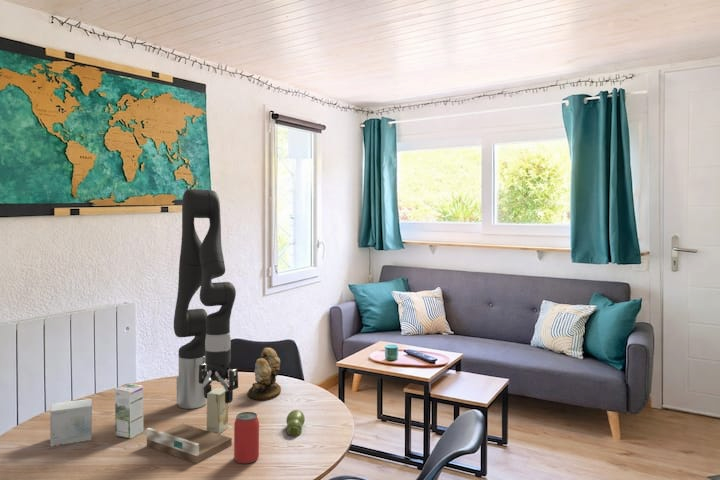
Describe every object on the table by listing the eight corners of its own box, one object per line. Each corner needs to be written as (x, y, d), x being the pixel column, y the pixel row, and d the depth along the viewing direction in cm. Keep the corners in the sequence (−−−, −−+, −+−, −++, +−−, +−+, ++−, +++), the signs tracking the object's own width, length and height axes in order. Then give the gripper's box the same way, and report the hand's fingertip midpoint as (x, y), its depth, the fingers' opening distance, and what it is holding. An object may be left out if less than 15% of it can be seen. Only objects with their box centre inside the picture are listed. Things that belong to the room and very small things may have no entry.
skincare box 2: (219, 435, 155) (219, 395, 154) (205, 433, 156) (206, 393, 155) (228, 426, 161) (229, 388, 161) (216, 425, 162) (216, 386, 162)
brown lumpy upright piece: (253, 384, 202) (253, 341, 201) (283, 385, 202) (284, 342, 202) (244, 401, 184) (245, 353, 183) (277, 401, 184) (278, 354, 184)
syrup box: (144, 431, 156) (144, 384, 156) (129, 439, 151) (129, 390, 150) (129, 429, 158) (129, 382, 158) (114, 436, 153) (114, 388, 152)
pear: (305, 407, 164) (302, 424, 154) (305, 422, 165) (302, 440, 155) (287, 406, 164) (284, 424, 154) (287, 421, 165) (284, 440, 155)
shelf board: (145, 446, 147) (145, 429, 146) (182, 429, 158) (183, 413, 158) (195, 463, 137) (195, 445, 137) (231, 445, 148) (231, 428, 148)
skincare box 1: (50, 447, 145) (49, 410, 145) (51, 438, 151) (51, 403, 150) (92, 440, 150) (91, 404, 150) (92, 432, 156) (91, 397, 155)
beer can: (236, 453, 143) (236, 411, 143) (260, 453, 144) (260, 410, 143) (232, 465, 137) (232, 420, 136) (257, 464, 137) (257, 420, 137)
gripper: (191, 347, 158) (192, 399, 158) (226, 353, 151) (226, 408, 151) (210, 342, 164) (210, 393, 165) (244, 348, 157) (244, 400, 158)
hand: (218, 400), depth 158 cm, fingers open, 8 cm apart
